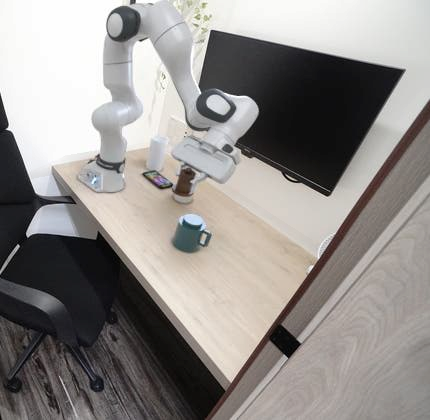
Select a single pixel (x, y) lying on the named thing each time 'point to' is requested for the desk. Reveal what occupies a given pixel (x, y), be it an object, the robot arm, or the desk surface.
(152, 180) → the smartphone
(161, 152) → the cup
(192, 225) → the teal mug
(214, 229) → the desk surface
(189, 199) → the milk bottle
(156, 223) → the desk surface
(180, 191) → the lid
